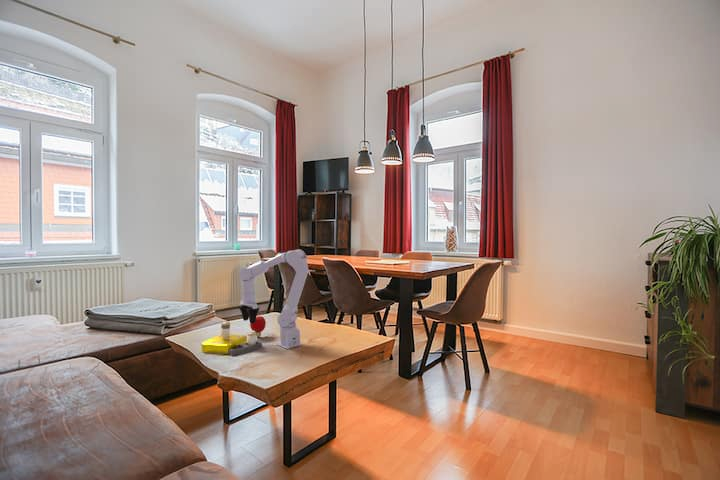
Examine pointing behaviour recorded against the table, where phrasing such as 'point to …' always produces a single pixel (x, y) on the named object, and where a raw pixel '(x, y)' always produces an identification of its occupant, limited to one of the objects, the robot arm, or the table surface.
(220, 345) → the element tile
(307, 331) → the table surface
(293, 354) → the table surface
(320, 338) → the table surface
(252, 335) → the cylinder
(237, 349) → the fuse block
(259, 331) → the light bulb
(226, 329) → the fuse
